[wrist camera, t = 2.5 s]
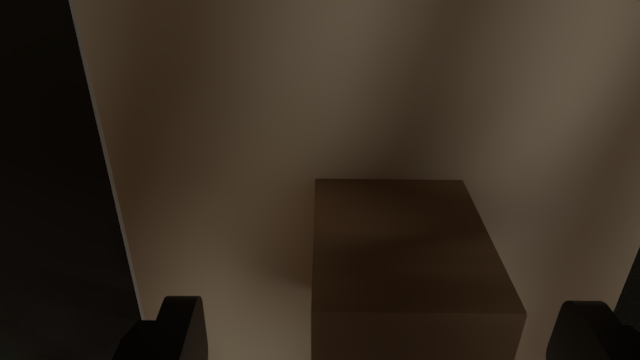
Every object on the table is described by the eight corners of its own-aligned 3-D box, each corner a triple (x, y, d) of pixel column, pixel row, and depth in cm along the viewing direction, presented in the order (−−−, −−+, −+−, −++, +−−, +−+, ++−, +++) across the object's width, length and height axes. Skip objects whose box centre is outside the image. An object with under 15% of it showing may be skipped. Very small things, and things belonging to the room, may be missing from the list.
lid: (728, -42, 12) (1039, 8, 7) (565, 388, 19) (652, 568, 14) (79, -48, 12) (-110, -4, 7) (169, 384, 19) (113, 560, 14)
